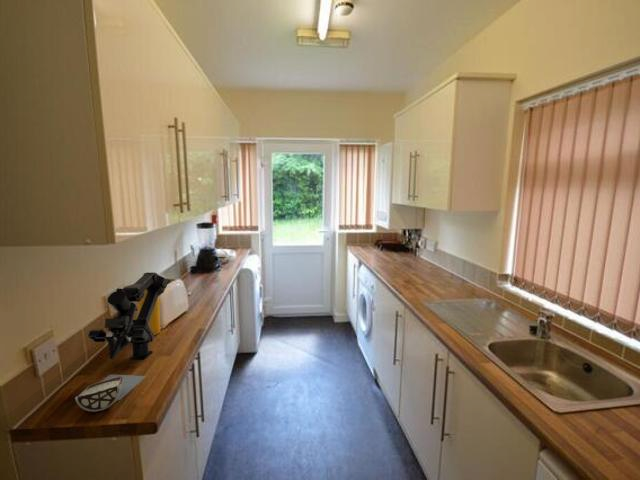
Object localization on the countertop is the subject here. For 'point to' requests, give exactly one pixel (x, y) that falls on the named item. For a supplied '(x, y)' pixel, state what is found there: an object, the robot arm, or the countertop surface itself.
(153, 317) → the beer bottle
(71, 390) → the countertop surface
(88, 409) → the food container
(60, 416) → the countertop surface
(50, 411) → the countertop surface
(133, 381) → the slate mat
